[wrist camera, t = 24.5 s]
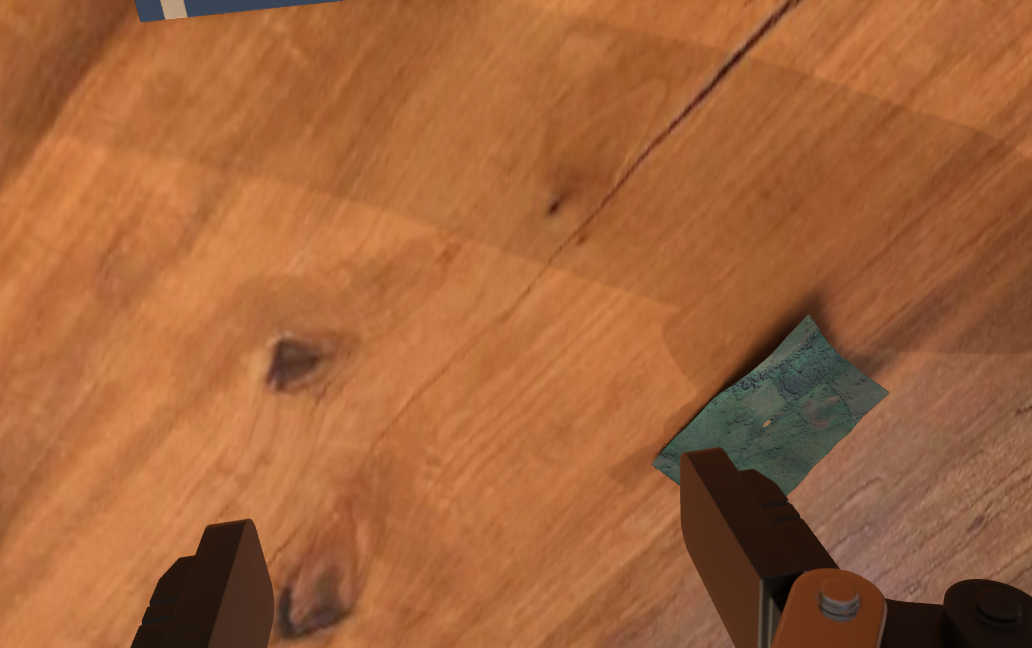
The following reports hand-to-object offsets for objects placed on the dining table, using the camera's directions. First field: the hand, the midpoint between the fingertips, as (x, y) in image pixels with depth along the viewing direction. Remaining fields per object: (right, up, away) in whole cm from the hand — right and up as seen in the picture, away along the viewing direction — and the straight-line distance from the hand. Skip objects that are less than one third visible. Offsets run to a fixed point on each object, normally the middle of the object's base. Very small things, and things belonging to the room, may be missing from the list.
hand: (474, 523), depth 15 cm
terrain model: (+16, -2, +34) cm, 38 cm away
